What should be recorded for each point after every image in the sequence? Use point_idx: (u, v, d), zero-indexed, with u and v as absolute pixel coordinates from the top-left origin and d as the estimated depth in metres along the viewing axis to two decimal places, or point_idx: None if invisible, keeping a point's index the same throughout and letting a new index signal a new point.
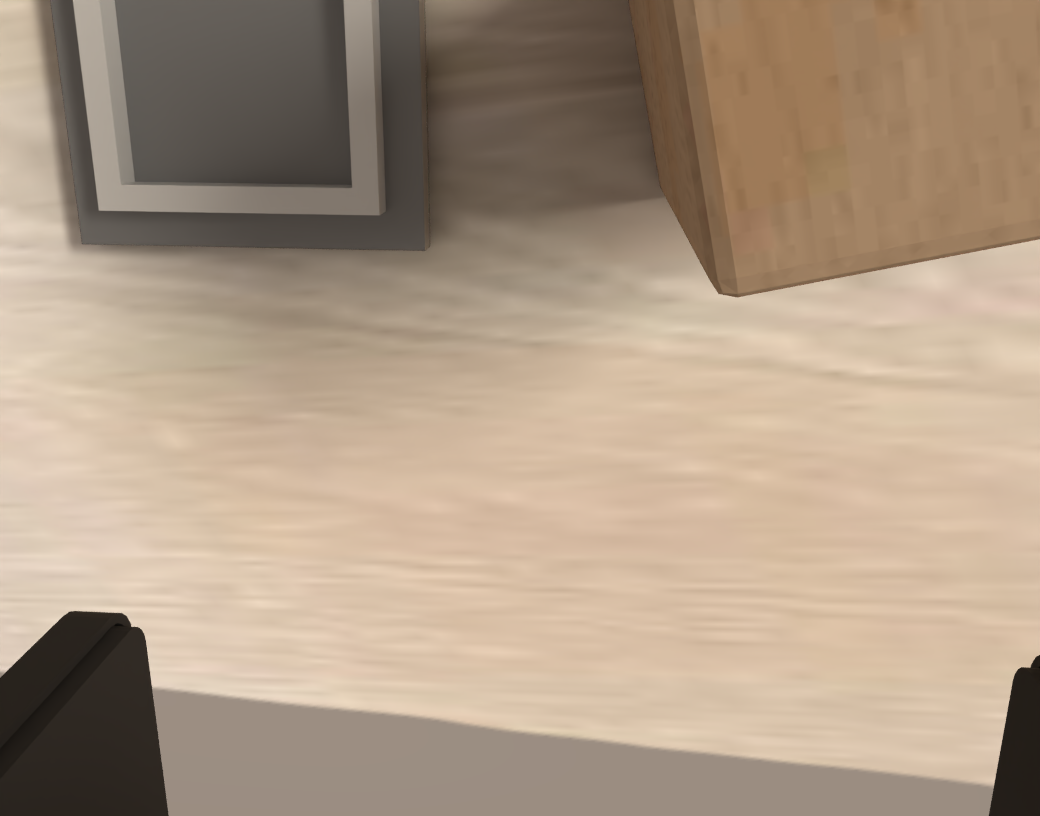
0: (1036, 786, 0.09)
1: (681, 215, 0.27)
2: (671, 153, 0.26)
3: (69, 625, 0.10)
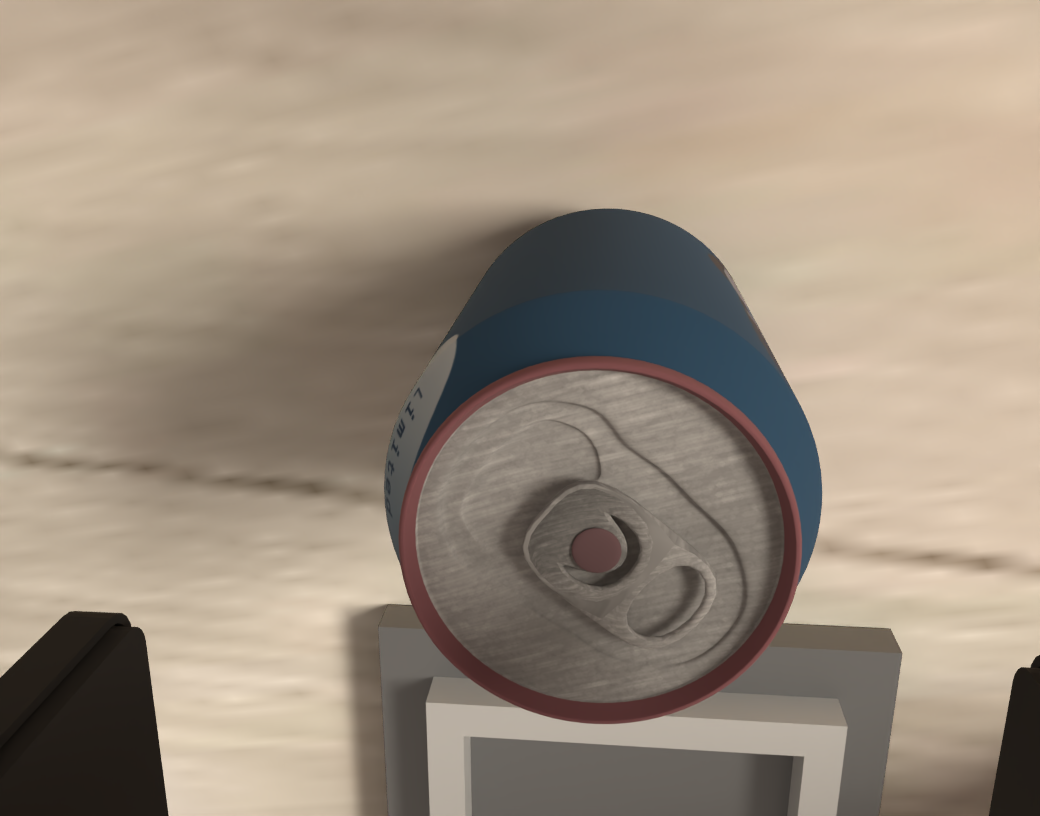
0: (1036, 786, 0.09)
1: None
2: None
3: (69, 625, 0.10)
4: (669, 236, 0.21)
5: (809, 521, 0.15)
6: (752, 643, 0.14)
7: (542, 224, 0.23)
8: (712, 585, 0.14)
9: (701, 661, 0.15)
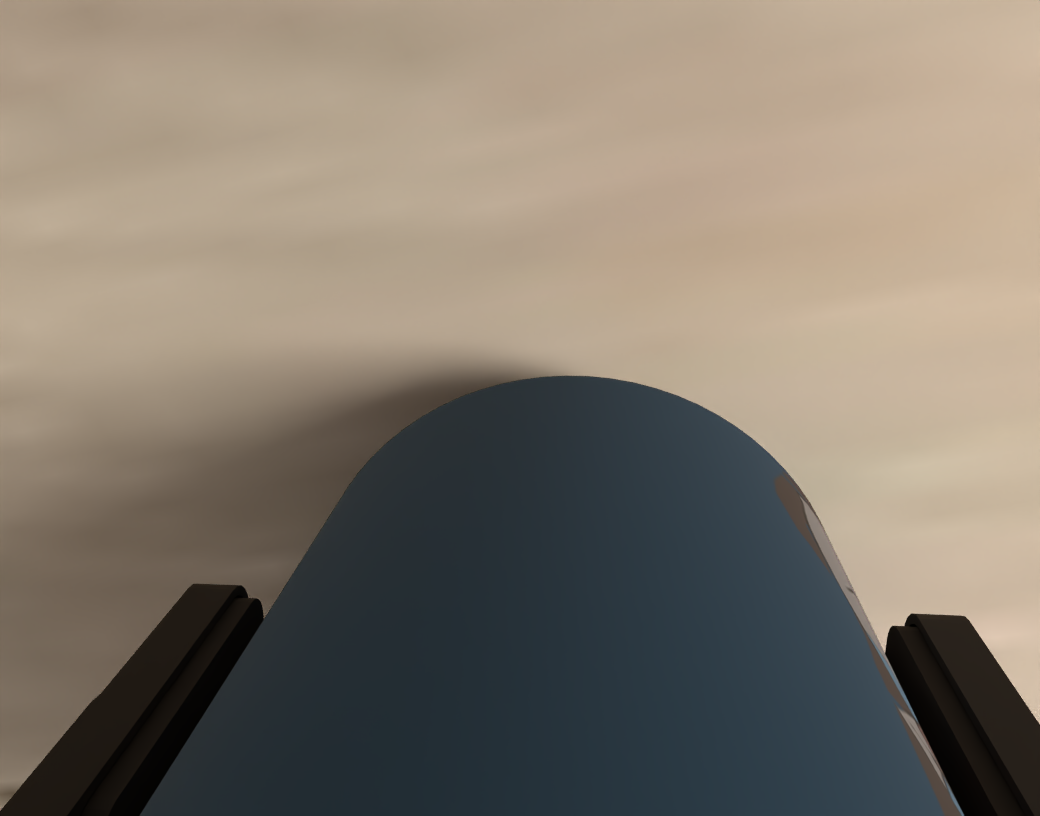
0: None
1: None
2: None
3: (197, 596, 0.11)
4: (700, 470, 0.10)
5: None
6: None
7: (448, 405, 0.12)
8: None
9: None
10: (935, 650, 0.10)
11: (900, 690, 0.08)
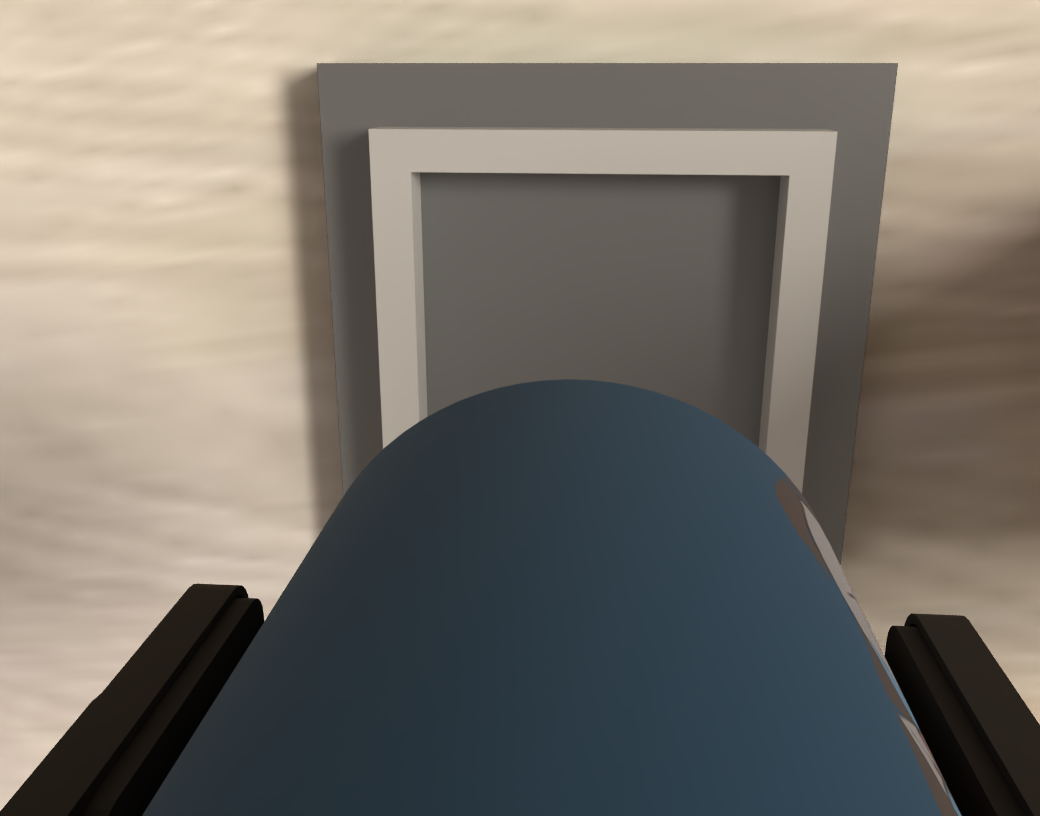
0: None
1: None
2: None
3: (197, 596, 0.11)
4: (700, 475, 0.10)
5: None
6: None
7: (448, 409, 0.12)
8: None
9: None
10: (935, 650, 0.10)
11: (901, 697, 0.08)
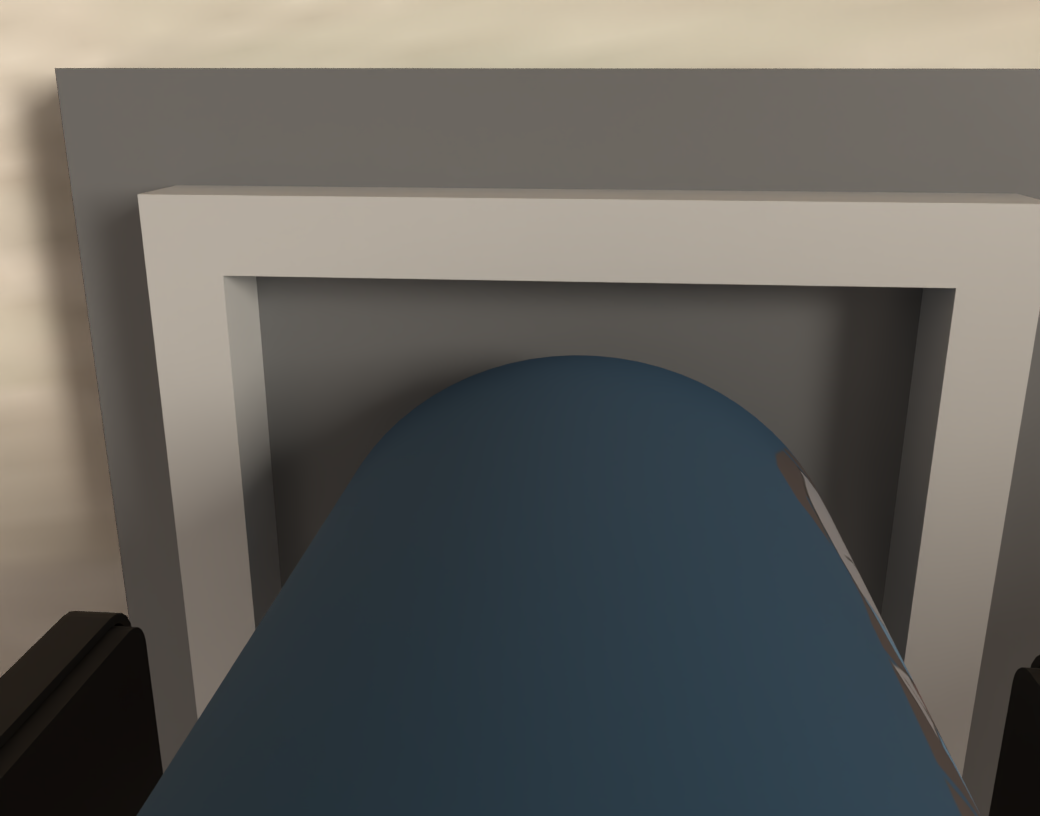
0: (1035, 786, 0.09)
1: None
2: None
3: (69, 625, 0.10)
4: (703, 443, 0.10)
5: None
6: None
7: (459, 384, 0.12)
8: None
9: None
10: None
11: (896, 650, 0.09)
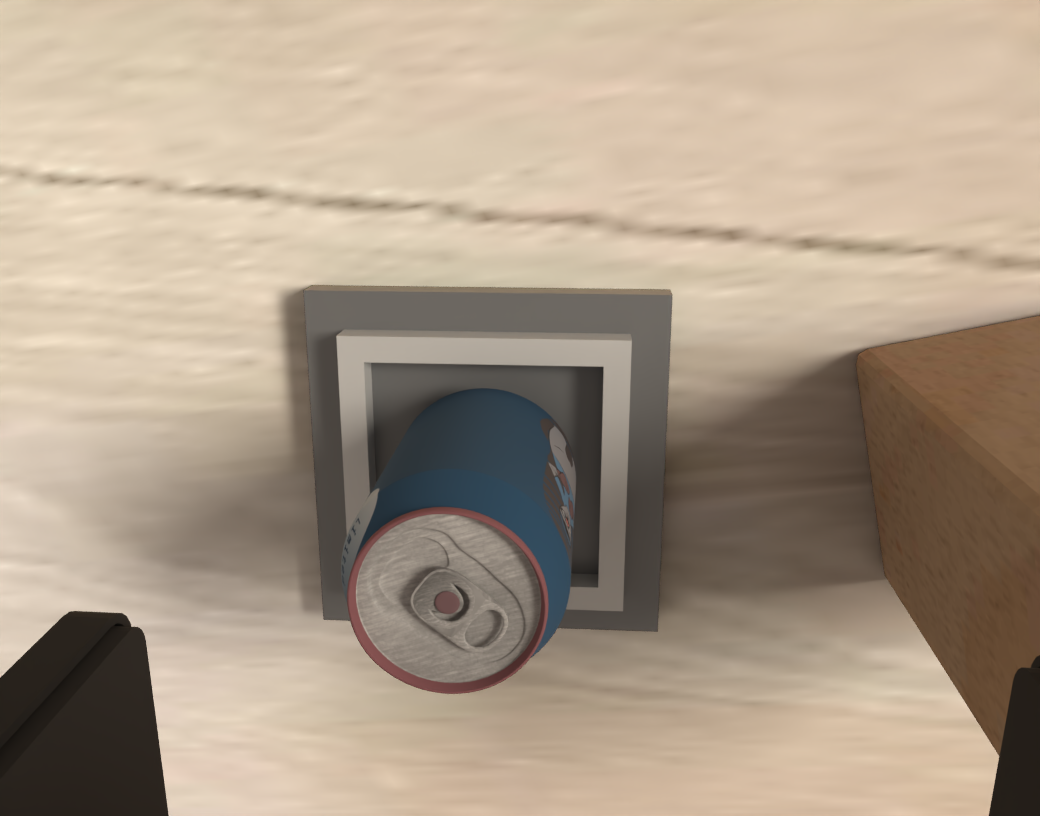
0: (1036, 786, 0.09)
1: None
2: (999, 703, 0.28)
3: (69, 625, 0.10)
4: (513, 413, 0.35)
5: (559, 586, 0.29)
6: (528, 649, 0.28)
7: (443, 398, 0.37)
8: (506, 619, 0.28)
9: (504, 659, 0.29)
10: None
11: (557, 464, 0.34)
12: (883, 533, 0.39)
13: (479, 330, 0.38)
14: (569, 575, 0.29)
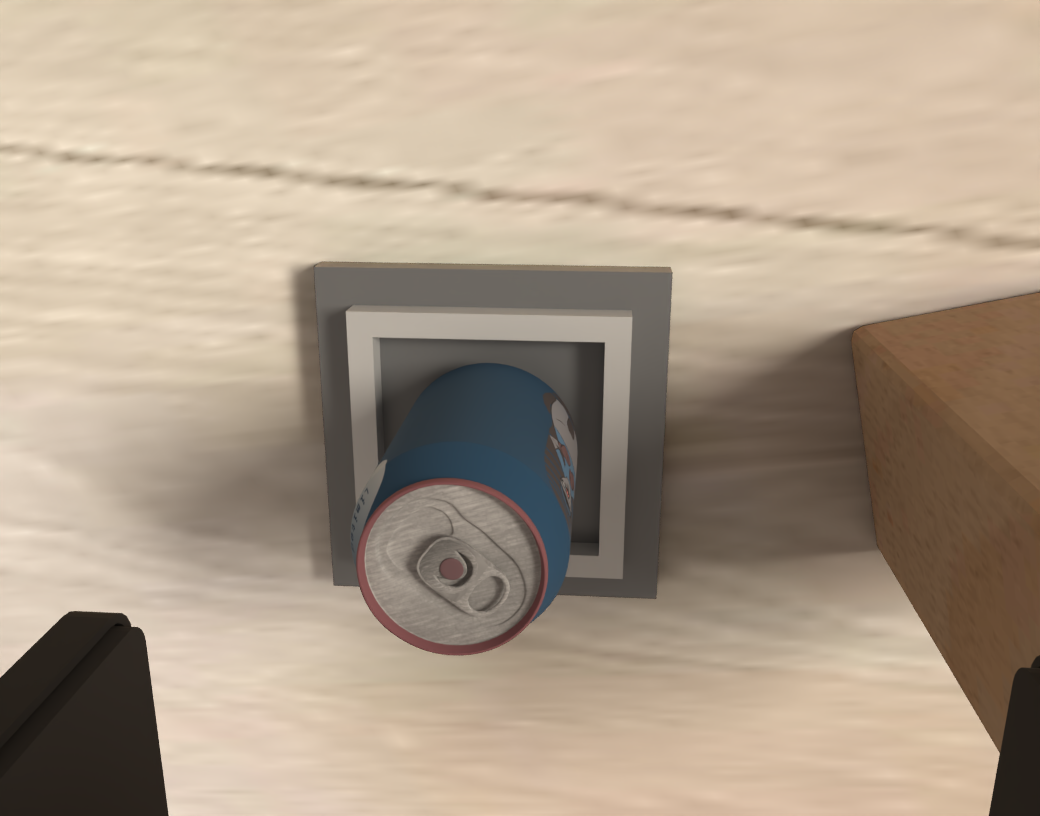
0: (1036, 786, 0.09)
1: (982, 712, 0.30)
2: (979, 667, 0.29)
3: (69, 625, 0.10)
4: (517, 387, 0.36)
5: (558, 554, 0.30)
6: (529, 613, 0.30)
7: (449, 372, 0.38)
8: (507, 585, 0.29)
9: (506, 623, 0.30)
10: None
11: (558, 437, 0.35)
12: (876, 505, 0.40)
13: (484, 306, 0.39)
14: (568, 543, 0.31)
